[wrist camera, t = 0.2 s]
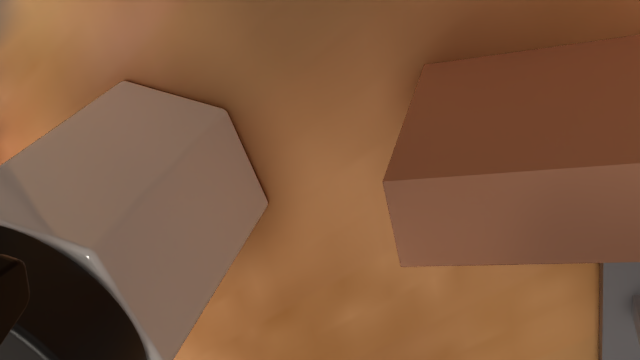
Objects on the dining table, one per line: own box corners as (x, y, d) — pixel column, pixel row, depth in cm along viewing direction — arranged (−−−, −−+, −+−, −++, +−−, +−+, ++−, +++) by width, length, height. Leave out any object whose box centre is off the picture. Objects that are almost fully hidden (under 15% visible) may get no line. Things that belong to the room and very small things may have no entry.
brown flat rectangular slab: (725, 100, 18) (844, 258, 12) (434, 129, 21) (400, 266, 15) (731, 21, 17) (869, 146, 11) (424, 64, 20) (382, 181, 14)
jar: (87, 215, 29) (-132, 426, 19) (75, 61, 24) (-223, 233, 14) (260, 270, 27) (121, 526, 18) (281, 119, 23) (110, 350, 13)
